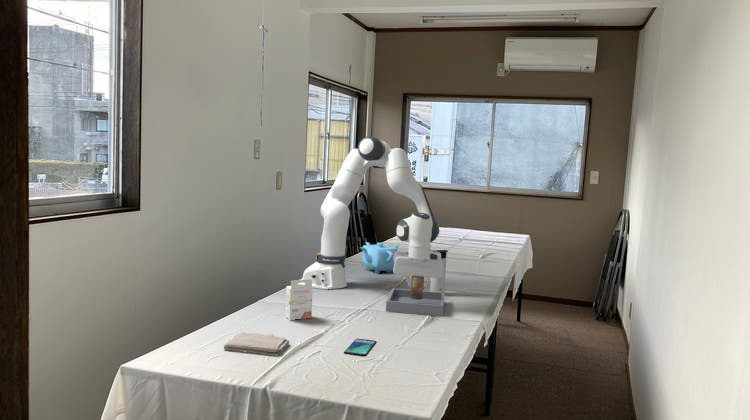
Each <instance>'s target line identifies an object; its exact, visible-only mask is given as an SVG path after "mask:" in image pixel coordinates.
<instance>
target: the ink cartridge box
mask: <svg viewBox="0 0 750 420" xmlns="http://www.w3.org/2000/svg"><path fill="white" fill-rule="evenodd" d="M301 282H302V283H305V284H304V285H298V283H301ZM285 290H286V291H285V318H286V317H287V318H288V319H287V318H286V319H287V320H289V321H290V320H292V321H296V320H295V319H302V320H307V319H306V318H311V319H312V317H313V316H312V315H313V313H312V311H313V309H312V308H313V288H312V279H308V280H300V279H296V280H295V279H293V280H291V281H290V285H287V286H286V289H285Z"/></svg>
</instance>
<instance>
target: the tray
mask: <svg viewBox="0 0 750 420" xmlns="http://www.w3.org/2000/svg"><path fill="white" fill-rule="evenodd" d="M444 299H445V292H444V293H442V292H430V290H428V291H427V290H423V299H420V300H416V299H412V298H411V289H405V288H404V289H403V288H394V287H393V288H392V289H391V290H390V293H389V295H388V297H387V299H386V301H385V304H386V305H385V312H389V313H398V314H399V313H401V314H402V313H403V314H412V315H422V316H423V315H424V316H436V317H443V313H444V304H445V303H444V301H445V300H444Z"/></svg>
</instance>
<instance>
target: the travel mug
mask: <svg viewBox="0 0 750 420" xmlns="http://www.w3.org/2000/svg"><path fill="white" fill-rule="evenodd" d="M434 251H437V252H439V253H441V260H442V263H443V277H442V278H432V277H430V283H429V285H430V286H429V287H430V288H429V291H430V292H442V293H444V294H445V288H446V287H445V286H446V285H445V284H446V270H447V269H446V268H447V253H448V249H436V250H434Z"/></svg>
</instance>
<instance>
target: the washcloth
mask: <svg viewBox="0 0 750 420" xmlns="http://www.w3.org/2000/svg"><path fill="white" fill-rule="evenodd" d="M288 344H290V340H289V339H287V337H283V336H278V335H277V336H276V335H274V334H269V333H268V334H264V333H256V332H244V331H241V332H238V333H237V334H235V335H234V336H233V338H232V339H230V340H228V342H226V343H225V344H224V345H223V349H224V350H225V351H229V350H234V351H233V352H238V351H246V352H245V353H247V352H248V353H249V352H255V353H254V354H257V353H262V354H261V355H266V354H270V355H269V356H274V355H279V353H280V354H282V353H283V352H282V350H283V349H284V348H285V347H286V346H287V345H288ZM287 347H288V346H287ZM287 347H286V348H287ZM286 348H285V349H286ZM285 349H284V350H285ZM284 350H283V351H284Z"/></svg>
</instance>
